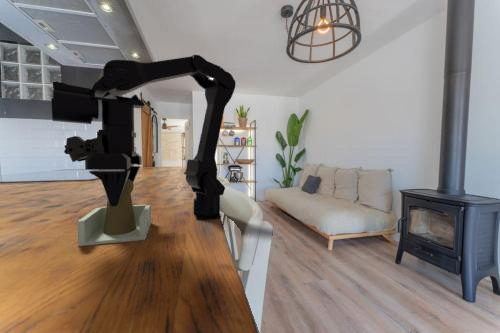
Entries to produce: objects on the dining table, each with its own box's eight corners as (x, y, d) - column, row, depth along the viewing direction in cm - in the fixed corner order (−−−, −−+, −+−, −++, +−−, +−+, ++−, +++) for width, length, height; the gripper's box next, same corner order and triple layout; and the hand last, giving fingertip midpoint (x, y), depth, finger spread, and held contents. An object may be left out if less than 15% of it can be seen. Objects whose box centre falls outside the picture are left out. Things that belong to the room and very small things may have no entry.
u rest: (151, 222, 54) (150, 204, 53) (145, 239, 43) (145, 216, 43) (98, 226, 50) (98, 207, 50) (78, 246, 40) (77, 221, 39)
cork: (97, 235, 43) (96, 180, 42) (111, 225, 49) (110, 176, 48) (130, 234, 44) (129, 180, 44) (140, 224, 50) (139, 176, 49)
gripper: (89, 129, 52) (90, 194, 52) (44, 116, 34) (47, 216, 35) (141, 131, 55) (142, 193, 56) (125, 121, 37) (126, 211, 38)
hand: (119, 201), depth 46 cm, fingers open, 9 cm apart
